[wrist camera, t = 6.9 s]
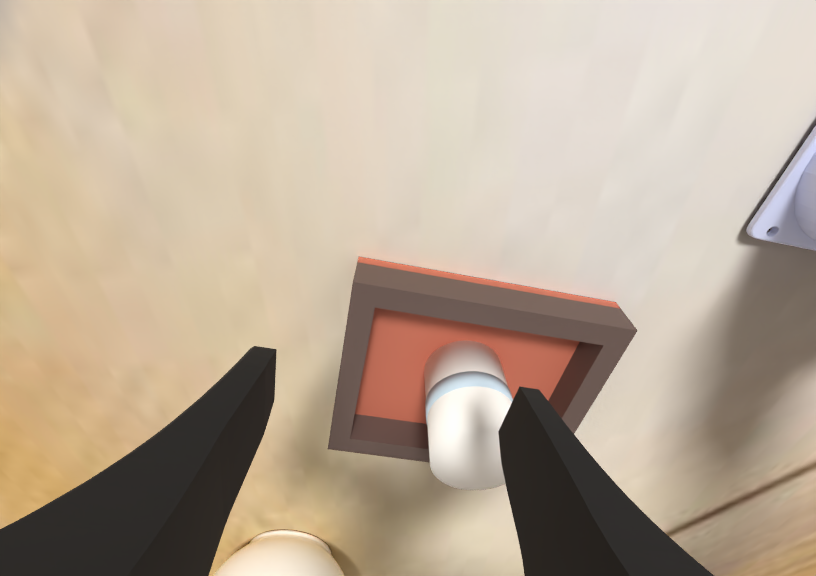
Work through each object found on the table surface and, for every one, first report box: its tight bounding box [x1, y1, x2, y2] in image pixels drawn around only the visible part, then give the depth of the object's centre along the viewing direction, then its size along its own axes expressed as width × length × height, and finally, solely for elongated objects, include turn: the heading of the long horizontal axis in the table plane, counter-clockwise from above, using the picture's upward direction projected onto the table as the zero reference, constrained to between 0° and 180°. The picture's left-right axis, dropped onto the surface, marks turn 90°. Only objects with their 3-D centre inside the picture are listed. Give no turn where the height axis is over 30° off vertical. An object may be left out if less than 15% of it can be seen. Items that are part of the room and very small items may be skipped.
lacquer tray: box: [328, 257, 637, 462], centre depth 24 cm, size 14×12×2 cm
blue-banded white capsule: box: [424, 341, 513, 490], centre depth 22 cm, size 5×5×6 cm
